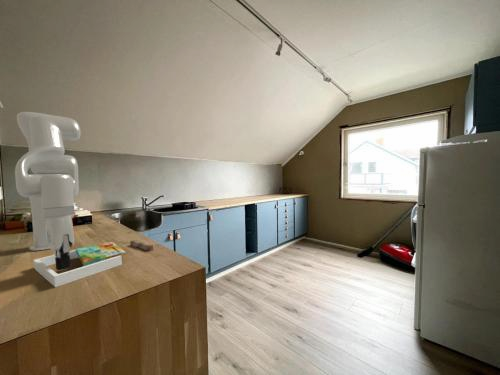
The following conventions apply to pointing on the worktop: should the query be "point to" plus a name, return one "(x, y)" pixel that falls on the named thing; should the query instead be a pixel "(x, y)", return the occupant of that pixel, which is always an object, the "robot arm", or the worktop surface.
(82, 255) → the puzzle game
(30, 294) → the worktop surface
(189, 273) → the worktop surface
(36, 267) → the frame
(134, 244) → the rail
